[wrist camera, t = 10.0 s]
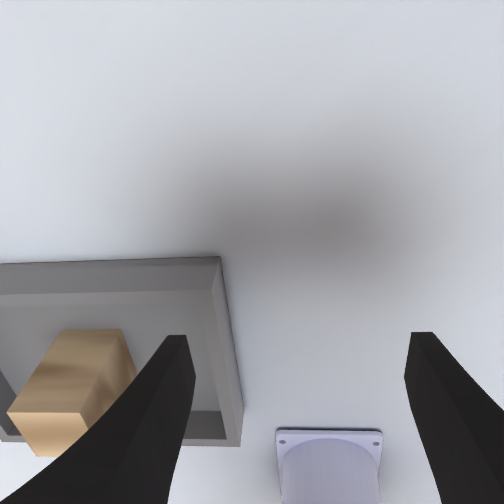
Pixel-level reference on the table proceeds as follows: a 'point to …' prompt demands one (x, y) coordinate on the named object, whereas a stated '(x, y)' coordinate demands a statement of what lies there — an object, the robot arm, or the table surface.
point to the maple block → (72, 388)
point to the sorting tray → (126, 328)
